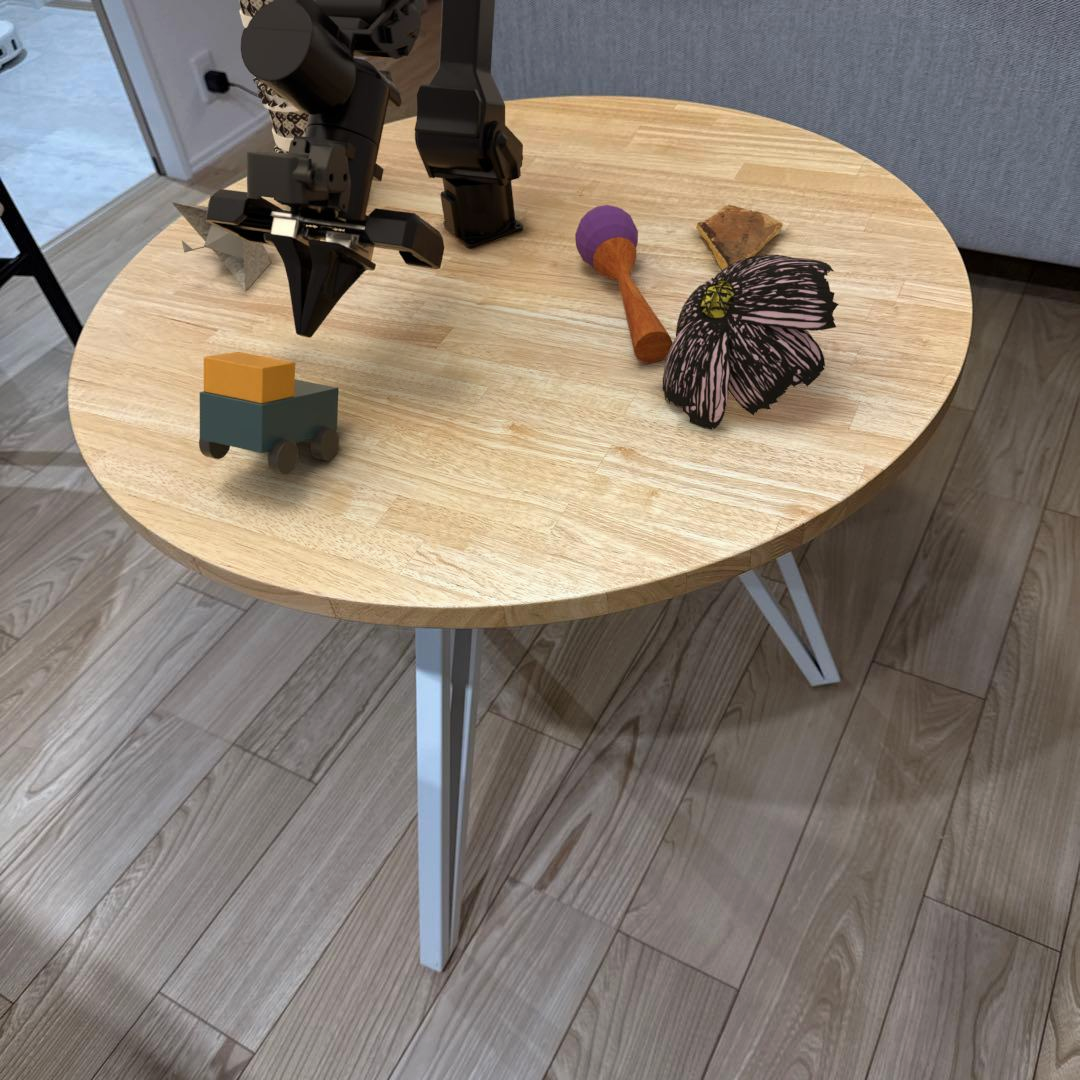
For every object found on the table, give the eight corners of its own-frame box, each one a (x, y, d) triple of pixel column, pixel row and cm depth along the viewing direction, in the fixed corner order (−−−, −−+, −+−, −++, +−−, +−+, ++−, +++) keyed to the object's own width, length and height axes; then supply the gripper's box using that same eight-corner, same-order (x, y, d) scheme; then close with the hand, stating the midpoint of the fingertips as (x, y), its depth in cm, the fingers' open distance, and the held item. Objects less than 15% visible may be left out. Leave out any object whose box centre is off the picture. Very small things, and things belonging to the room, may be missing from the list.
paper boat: (302, 253, 102) (232, 273, 96) (282, 296, 107) (213, 318, 100) (228, 168, 103) (154, 182, 96) (211, 214, 108) (138, 231, 101)
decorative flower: (633, 242, 81) (821, 190, 76) (673, 331, 91) (843, 290, 85) (634, 385, 74) (840, 340, 69) (677, 466, 84) (863, 431, 78)
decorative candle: (385, 190, 113) (335, -58, 96) (331, 227, 108) (268, -28, 90) (324, 176, 117) (266, -65, 99) (270, 211, 112) (198, -37, 94)
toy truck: (273, 343, 82) (190, 354, 73) (349, 356, 79) (272, 370, 70) (271, 439, 84) (190, 462, 75) (344, 455, 82) (270, 480, 73)
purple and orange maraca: (613, 332, 83) (563, 205, 96) (626, 383, 87) (577, 256, 100) (682, 308, 82) (623, 184, 95) (691, 362, 87) (634, 236, 100)
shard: (732, 286, 93) (733, 268, 92) (661, 265, 97) (662, 249, 96) (785, 234, 99) (787, 217, 98) (717, 217, 103) (718, 200, 101)
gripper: (178, 85, 74) (138, 294, 75) (400, 104, 68) (354, 331, 69) (266, 145, 84) (230, 327, 85) (464, 166, 78) (424, 362, 79)
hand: (303, 336), depth 79 cm, fingers closed
